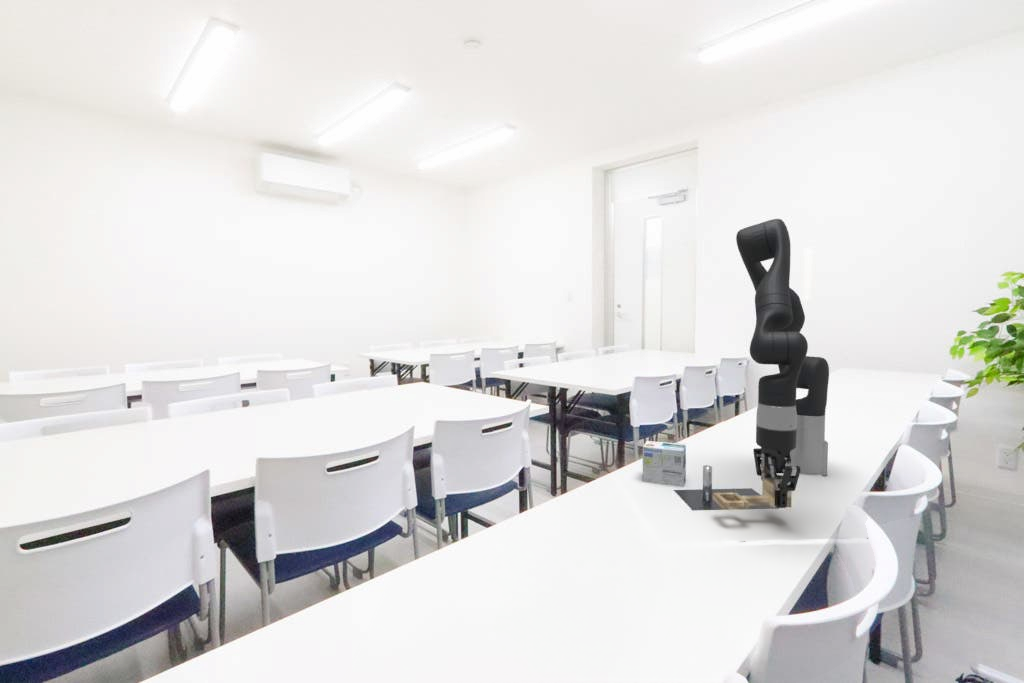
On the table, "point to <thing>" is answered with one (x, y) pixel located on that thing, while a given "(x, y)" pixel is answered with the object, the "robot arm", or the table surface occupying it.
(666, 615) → the table surface
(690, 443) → the table surface
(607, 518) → the table surface
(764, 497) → the tan wooden piece
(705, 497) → the post stand
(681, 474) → the light bulb box
